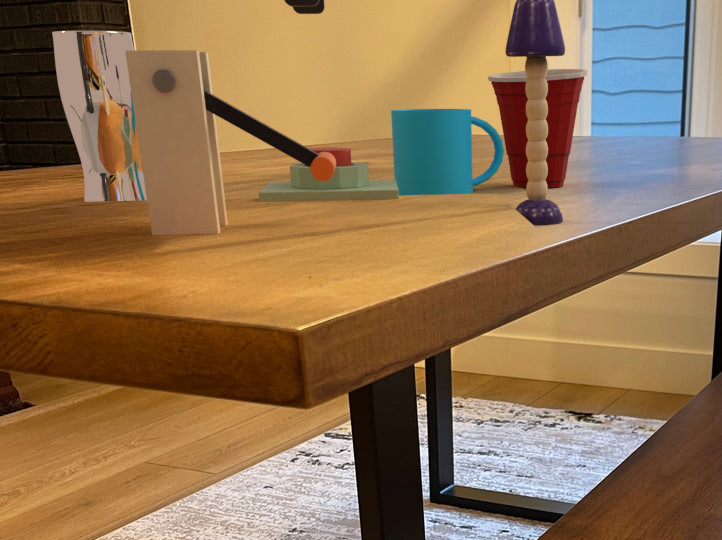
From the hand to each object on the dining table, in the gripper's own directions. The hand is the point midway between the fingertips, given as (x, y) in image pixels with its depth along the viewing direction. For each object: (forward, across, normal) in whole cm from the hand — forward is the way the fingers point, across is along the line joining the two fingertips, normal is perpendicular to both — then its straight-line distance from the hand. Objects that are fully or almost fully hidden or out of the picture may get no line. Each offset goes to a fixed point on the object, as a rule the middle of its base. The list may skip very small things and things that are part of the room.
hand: (305, 10), depth 66 cm
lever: (+8, +1, -5) cm, 9 cm away
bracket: (+15, +1, -9) cm, 18 cm away
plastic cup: (+16, -40, +22) cm, 48 cm away
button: (+12, -21, 0) cm, 24 cm away
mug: (+16, -35, +12) cm, 40 cm away
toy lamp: (+16, -9, +17) cm, 25 cm away
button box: (+15, -21, 0) cm, 26 cm away
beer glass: (+15, -26, -20) cm, 36 cm away
